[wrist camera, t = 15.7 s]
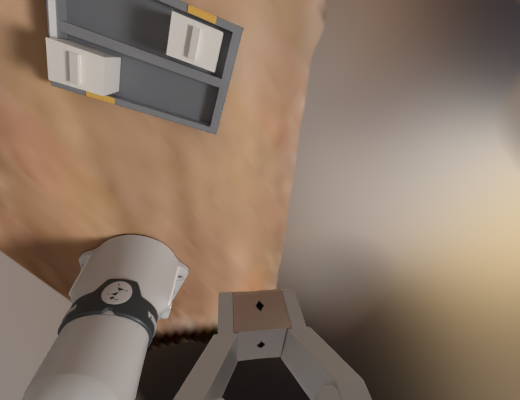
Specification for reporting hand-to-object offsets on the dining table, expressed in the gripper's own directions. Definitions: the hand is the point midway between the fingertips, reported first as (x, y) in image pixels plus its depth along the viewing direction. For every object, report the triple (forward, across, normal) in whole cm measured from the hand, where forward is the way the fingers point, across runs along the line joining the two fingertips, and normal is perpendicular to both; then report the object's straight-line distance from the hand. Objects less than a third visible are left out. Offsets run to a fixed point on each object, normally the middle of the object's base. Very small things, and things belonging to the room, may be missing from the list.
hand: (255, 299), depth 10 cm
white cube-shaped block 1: (+28, +16, -6) cm, 33 cm away
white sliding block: (+28, +4, -9) cm, 30 cm away
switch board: (+29, +10, -8) cm, 32 cm away
